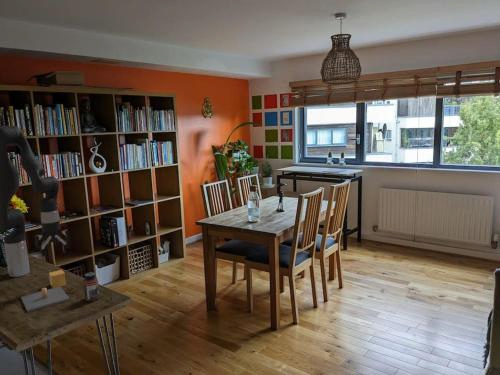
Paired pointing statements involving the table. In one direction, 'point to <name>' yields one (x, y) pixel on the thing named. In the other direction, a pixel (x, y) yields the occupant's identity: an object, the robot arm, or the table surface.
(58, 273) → the mustard foam cube
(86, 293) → the supplement bottle
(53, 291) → the thin gray plate
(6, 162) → the robot arm
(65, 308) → the table surface
